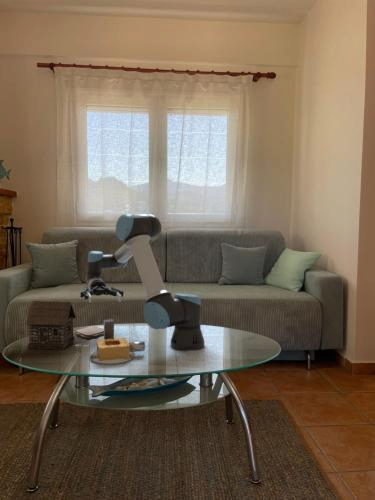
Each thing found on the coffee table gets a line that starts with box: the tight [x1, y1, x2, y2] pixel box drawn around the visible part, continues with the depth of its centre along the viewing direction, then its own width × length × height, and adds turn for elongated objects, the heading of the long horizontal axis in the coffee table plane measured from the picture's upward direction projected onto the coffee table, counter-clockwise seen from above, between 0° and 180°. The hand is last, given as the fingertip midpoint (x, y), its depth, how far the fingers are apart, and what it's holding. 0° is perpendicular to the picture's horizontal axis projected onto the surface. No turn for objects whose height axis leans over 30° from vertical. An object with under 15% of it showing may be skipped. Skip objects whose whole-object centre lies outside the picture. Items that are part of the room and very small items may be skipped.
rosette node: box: [89, 337, 146, 366], centre depth 173 cm, size 22×18×6 cm
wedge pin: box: [103, 318, 115, 339], centre depth 186 cm, size 4×4×12 cm
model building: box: [25, 300, 77, 350], centre depth 189 cm, size 18×14×20 cm
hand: (105, 299), depth 192 cm, fingers open, 13 cm apart
